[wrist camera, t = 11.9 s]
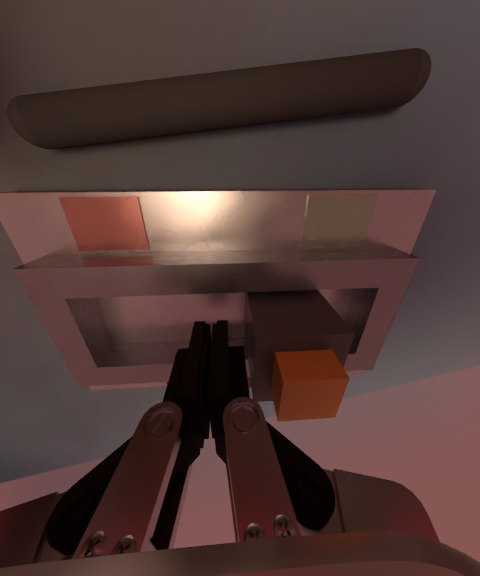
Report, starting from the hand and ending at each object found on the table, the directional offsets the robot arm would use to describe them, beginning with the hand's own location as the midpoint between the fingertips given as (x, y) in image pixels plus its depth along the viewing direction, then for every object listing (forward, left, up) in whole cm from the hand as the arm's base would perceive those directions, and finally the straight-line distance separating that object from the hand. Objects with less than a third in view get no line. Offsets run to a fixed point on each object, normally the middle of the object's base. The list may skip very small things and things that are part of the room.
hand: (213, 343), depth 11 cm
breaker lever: (-4, 0, -3) cm, 5 cm away
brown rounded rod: (-1, -10, -4) cm, 11 cm away
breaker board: (-1, 0, -4) cm, 5 cm away
